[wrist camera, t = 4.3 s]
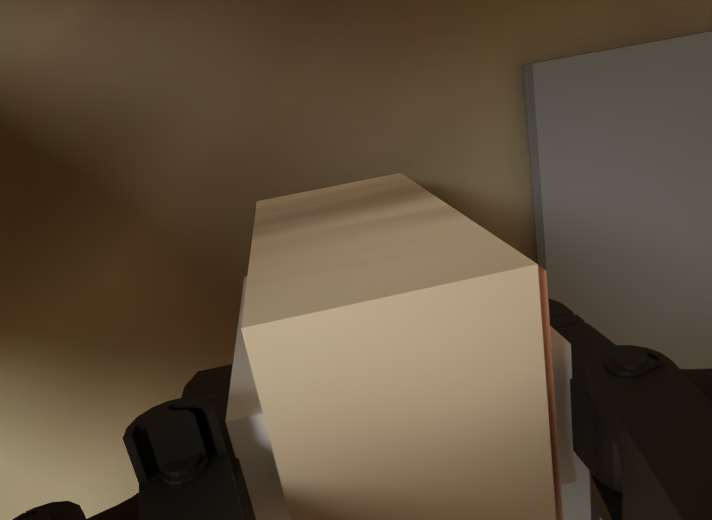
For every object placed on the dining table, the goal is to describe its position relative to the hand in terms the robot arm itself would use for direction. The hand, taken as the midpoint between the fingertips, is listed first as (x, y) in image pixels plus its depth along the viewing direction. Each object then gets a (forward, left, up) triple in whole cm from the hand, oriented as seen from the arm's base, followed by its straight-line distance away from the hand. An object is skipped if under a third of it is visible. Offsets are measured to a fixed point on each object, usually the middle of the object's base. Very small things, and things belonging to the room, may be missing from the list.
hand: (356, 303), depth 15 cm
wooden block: (0, 0, 0) cm, 1 cm away
